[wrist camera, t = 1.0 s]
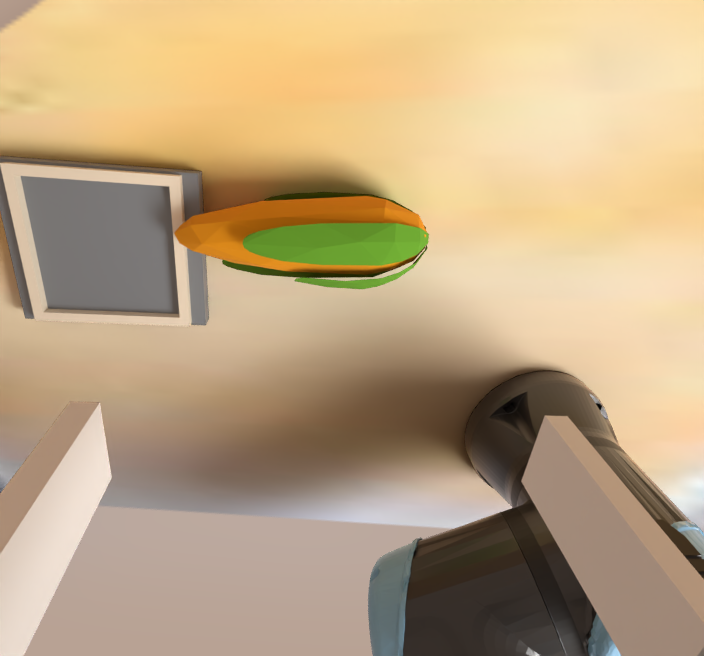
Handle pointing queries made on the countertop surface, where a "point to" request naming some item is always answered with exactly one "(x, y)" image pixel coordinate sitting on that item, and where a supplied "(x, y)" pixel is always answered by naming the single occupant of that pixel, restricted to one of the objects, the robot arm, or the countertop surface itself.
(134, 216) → the board
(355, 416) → the countertop surface
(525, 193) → the countertop surface
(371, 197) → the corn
